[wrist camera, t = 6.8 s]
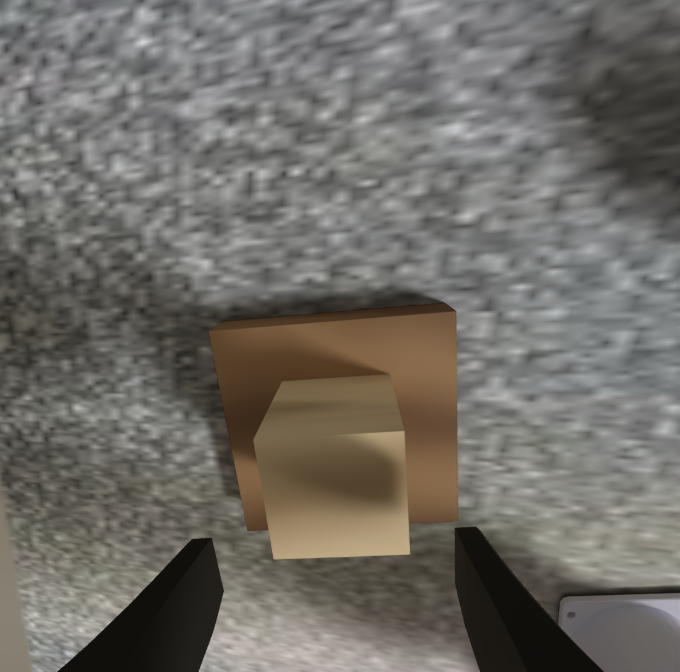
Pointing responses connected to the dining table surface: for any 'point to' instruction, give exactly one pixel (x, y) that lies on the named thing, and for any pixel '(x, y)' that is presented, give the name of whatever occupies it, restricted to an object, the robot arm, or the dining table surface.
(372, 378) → the maple cube
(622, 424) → the dining table surface
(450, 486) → the walnut stand
